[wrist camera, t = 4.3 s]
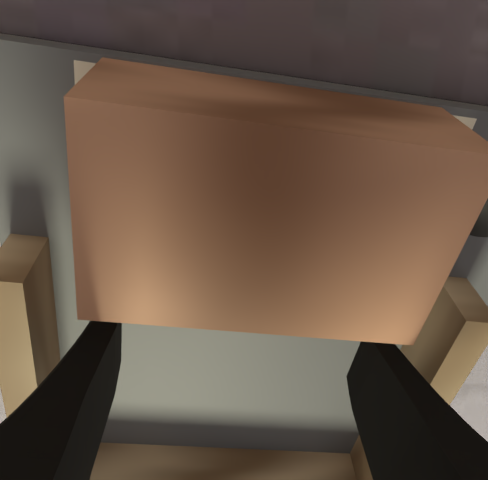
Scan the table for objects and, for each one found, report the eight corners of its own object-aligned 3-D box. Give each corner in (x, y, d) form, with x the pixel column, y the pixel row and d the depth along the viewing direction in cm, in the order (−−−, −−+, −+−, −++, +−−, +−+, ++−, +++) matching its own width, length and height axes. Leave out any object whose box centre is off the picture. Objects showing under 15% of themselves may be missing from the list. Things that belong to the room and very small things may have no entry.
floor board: (581, 120, 12) (597, 128, 11) (389, 455, 20) (394, 469, 20) (-22, 30, 10) (-35, 34, 10) (40, 440, 18) (35, 454, 18)
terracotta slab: (441, 107, 11) (508, 156, 8) (377, 271, 14) (413, 345, 11) (102, 57, 10) (63, 96, 7) (104, 244, 13) (77, 319, 10)
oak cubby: (466, 278, 14) (500, 323, 12) (365, 467, 20) (379, 516, 18) (10, 233, 12) (-22, 279, 11) (43, 454, 18) (25, 507, 16)
